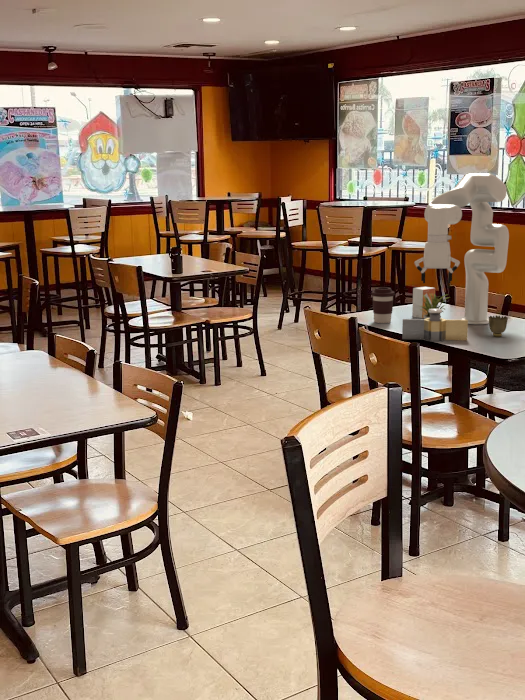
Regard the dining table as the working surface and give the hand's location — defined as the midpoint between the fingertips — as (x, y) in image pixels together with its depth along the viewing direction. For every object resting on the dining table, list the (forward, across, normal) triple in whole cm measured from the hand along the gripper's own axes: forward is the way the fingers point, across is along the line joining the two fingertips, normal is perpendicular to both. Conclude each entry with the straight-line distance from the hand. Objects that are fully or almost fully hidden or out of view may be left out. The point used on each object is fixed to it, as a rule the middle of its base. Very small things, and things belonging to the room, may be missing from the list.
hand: (436, 282), depth 338 cm
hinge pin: (+22, 0, 0) cm, 23 cm away
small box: (+24, +3, -49) cm, 55 cm away
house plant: (+23, -1, -17) cm, 29 cm away
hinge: (+22, 0, +1) cm, 23 cm away
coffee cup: (+23, +21, -34) cm, 47 cm away
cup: (+23, -25, -7) cm, 35 cm away
